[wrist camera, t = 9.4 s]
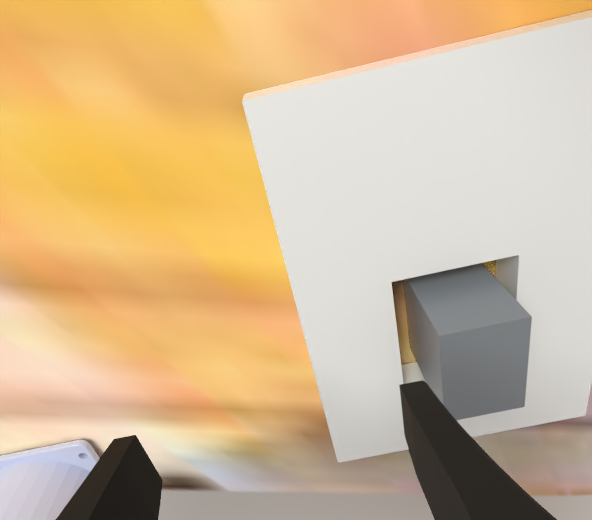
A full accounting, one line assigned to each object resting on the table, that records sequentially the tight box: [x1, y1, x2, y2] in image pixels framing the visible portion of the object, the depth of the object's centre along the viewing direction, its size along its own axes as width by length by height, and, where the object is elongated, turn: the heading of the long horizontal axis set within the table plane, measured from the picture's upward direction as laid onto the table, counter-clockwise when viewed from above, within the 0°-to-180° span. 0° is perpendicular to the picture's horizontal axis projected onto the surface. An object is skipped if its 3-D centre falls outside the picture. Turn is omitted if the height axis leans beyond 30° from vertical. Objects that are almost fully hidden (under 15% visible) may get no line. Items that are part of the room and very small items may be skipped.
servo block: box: [403, 263, 532, 420], centre depth 19 cm, size 5×4×5 cm
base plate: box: [242, 10, 592, 463], centre depth 19 cm, size 20×14×2 cm
